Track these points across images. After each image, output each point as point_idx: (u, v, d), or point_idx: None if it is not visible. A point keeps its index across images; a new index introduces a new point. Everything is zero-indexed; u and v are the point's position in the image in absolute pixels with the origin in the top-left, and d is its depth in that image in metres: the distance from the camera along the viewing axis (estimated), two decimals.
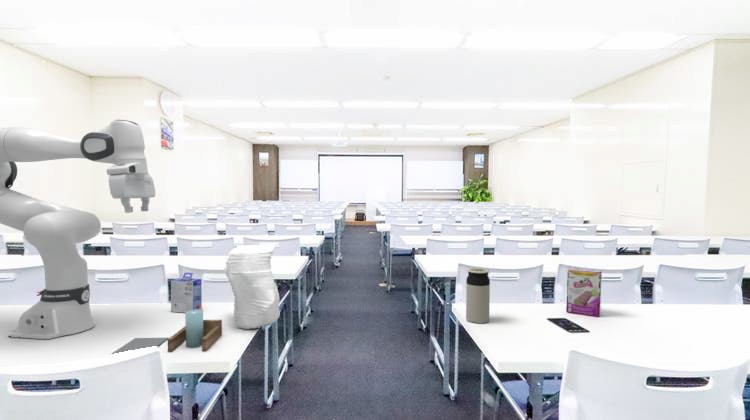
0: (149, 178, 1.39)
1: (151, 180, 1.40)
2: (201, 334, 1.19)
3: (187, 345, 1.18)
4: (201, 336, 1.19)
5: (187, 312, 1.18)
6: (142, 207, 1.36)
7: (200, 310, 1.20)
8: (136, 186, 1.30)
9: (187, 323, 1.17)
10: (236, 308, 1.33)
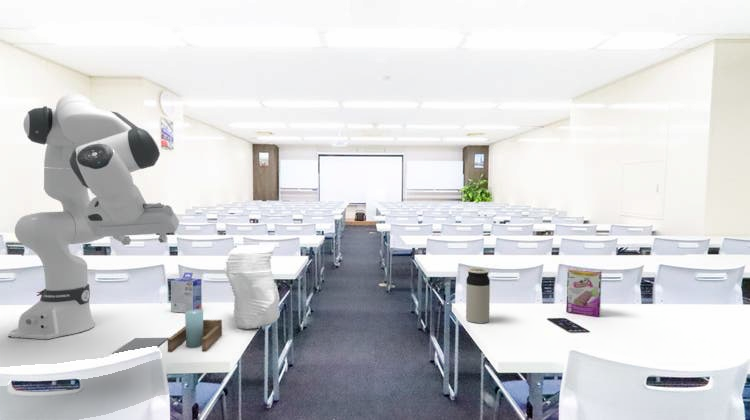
0: (155, 216, 1.00)
1: (160, 218, 1.01)
2: (201, 334, 1.19)
3: (187, 345, 1.18)
4: (201, 336, 1.19)
5: (187, 312, 1.18)
6: None
7: (200, 310, 1.20)
8: (124, 226, 1.01)
9: (187, 323, 1.17)
10: (236, 308, 1.33)
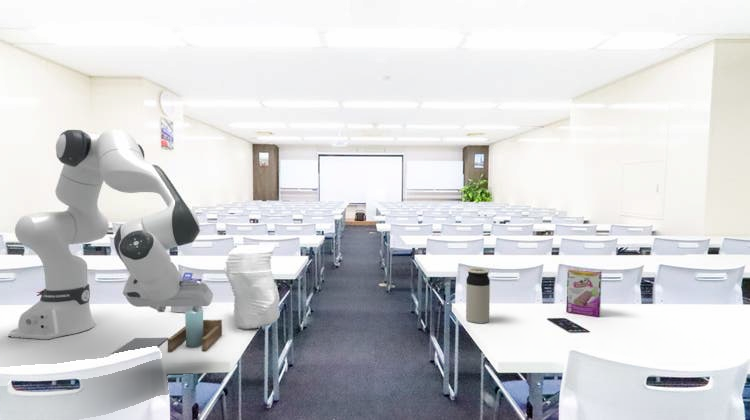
0: (190, 294, 1.01)
1: (195, 295, 1.02)
2: (201, 334, 1.19)
3: (187, 345, 1.18)
4: (201, 336, 1.19)
5: (187, 312, 1.18)
6: None
7: (200, 310, 1.20)
8: None
9: (187, 323, 1.17)
10: (236, 308, 1.33)
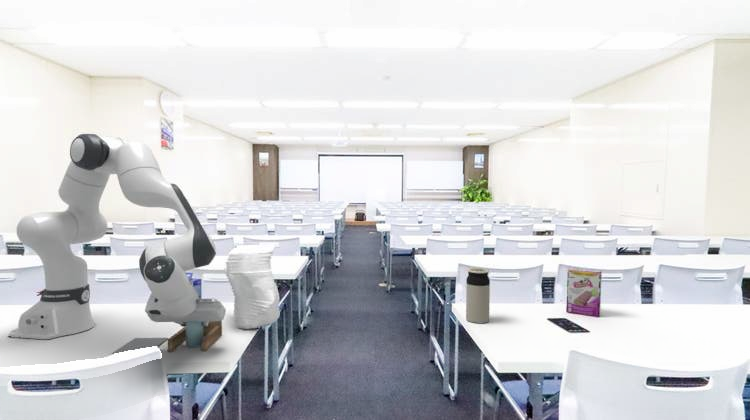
0: (206, 311, 1.11)
1: (210, 312, 1.12)
2: (201, 334, 1.19)
3: (187, 345, 1.18)
4: (201, 336, 1.19)
5: None
6: None
7: None
8: None
9: (187, 323, 1.17)
10: (236, 308, 1.33)
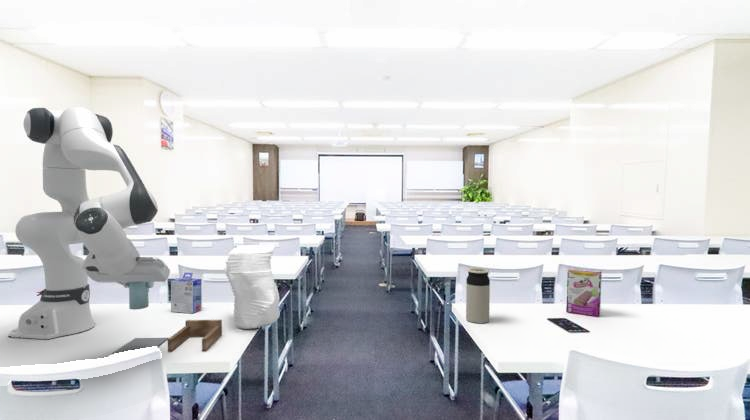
0: (147, 269, 1.08)
1: (151, 270, 1.09)
2: (145, 296, 1.16)
3: (130, 306, 1.15)
4: (145, 298, 1.16)
5: None
6: None
7: None
8: (119, 275, 1.10)
9: (130, 284, 1.14)
10: (236, 308, 1.33)
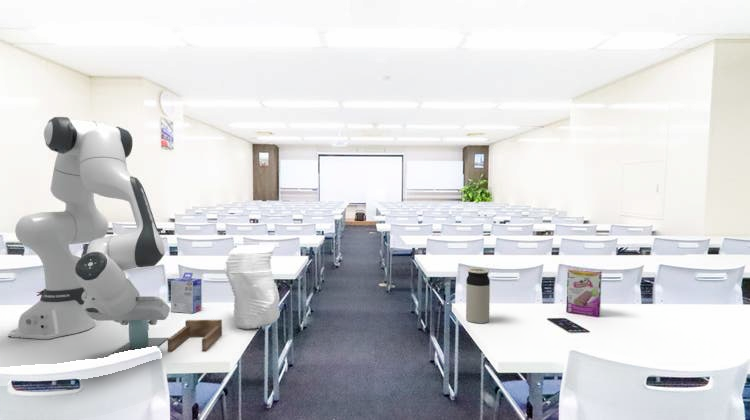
0: (146, 309, 1.08)
1: (151, 310, 1.09)
2: (145, 336, 1.16)
3: (130, 347, 1.15)
4: (145, 338, 1.16)
5: None
6: None
7: None
8: None
9: (130, 325, 1.15)
10: (236, 308, 1.33)
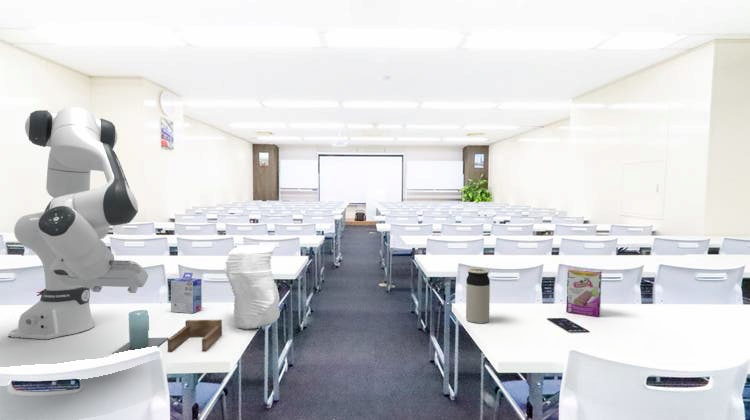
0: (121, 274, 0.99)
1: (126, 275, 0.99)
2: (145, 336, 1.16)
3: (130, 347, 1.15)
4: (145, 338, 1.16)
5: (130, 313, 1.16)
6: None
7: (145, 311, 1.18)
8: (91, 279, 1.01)
9: (130, 325, 1.15)
10: (236, 308, 1.33)
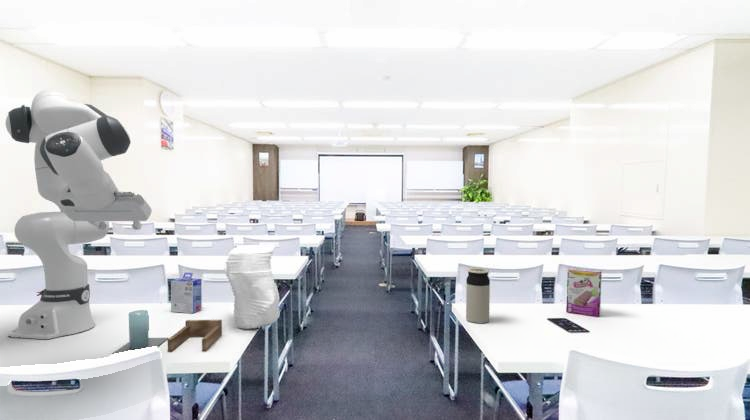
0: (126, 205, 1.02)
1: (131, 206, 1.03)
2: (145, 336, 1.16)
3: (130, 347, 1.15)
4: (145, 338, 1.16)
5: (130, 313, 1.16)
6: None
7: (145, 311, 1.18)
8: (97, 212, 1.04)
9: (130, 325, 1.15)
10: (236, 308, 1.33)
